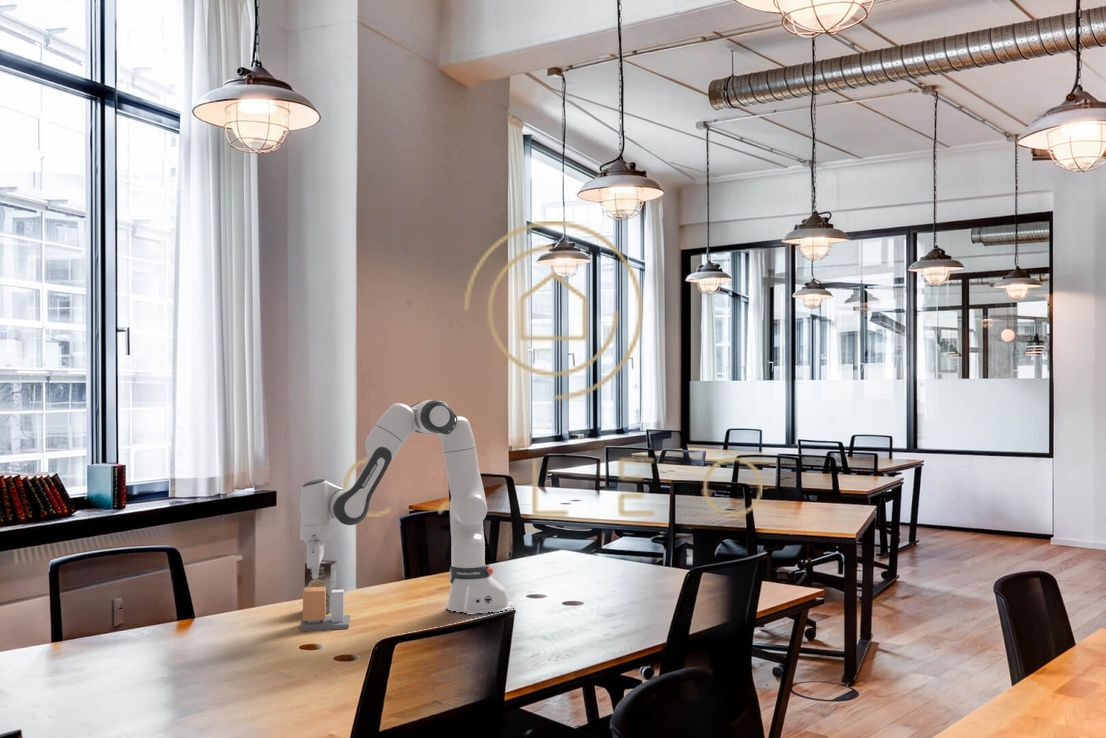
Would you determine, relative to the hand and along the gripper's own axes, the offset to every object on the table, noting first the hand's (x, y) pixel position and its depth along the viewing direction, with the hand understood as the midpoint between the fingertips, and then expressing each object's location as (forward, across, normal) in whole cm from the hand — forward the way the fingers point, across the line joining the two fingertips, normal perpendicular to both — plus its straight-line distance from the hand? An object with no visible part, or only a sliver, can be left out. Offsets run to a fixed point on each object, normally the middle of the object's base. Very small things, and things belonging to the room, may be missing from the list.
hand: (315, 577), depth 276 cm
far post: (+14, 0, +1) cm, 14 cm away
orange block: (+12, 0, 0) cm, 12 cm away
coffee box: (+15, +19, 0) cm, 24 cm away
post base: (+14, 0, -3) cm, 15 cm away
